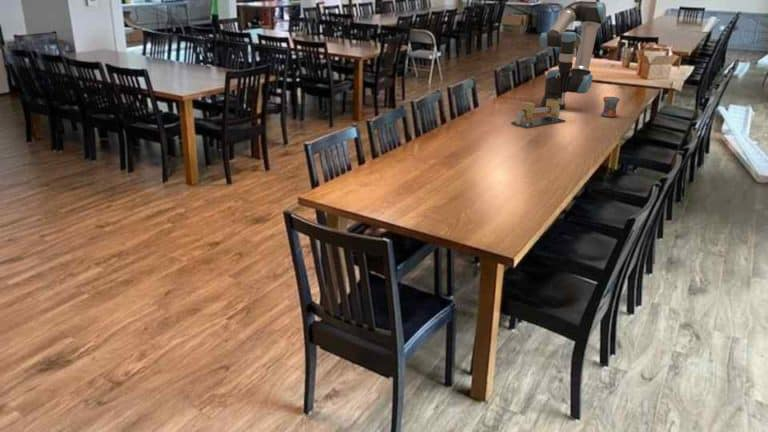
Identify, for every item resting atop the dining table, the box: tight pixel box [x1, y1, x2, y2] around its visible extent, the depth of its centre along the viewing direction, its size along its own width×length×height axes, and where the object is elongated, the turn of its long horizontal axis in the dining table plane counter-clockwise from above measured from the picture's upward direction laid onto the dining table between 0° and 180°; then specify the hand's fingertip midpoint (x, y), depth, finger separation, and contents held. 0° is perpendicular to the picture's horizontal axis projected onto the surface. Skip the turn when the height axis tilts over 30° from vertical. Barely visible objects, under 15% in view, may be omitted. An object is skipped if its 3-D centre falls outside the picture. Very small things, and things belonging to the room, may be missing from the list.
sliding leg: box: [544, 98, 560, 119], centre depth 344 cm, size 7×4×10 cm, turn 32°
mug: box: [601, 96, 621, 118], centre depth 358 cm, size 12×9×11 cm
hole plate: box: [510, 115, 567, 129], centre depth 341 cm, size 12×30×2 cm, turn 122°
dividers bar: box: [515, 101, 560, 125], centre depth 339 cm, size 7×30×11 cm, turn 122°
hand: (560, 103), depth 343 cm, fingers closed
